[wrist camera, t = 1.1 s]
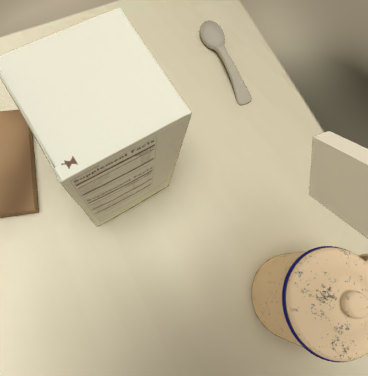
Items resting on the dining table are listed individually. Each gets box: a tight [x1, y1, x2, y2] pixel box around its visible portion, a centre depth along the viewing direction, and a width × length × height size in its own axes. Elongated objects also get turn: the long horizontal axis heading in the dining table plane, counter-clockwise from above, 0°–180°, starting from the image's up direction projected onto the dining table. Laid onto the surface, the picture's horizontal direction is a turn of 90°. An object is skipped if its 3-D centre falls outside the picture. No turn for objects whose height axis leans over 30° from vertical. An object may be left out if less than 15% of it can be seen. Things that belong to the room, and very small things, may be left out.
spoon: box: [200, 21, 252, 105], centre depth 41 cm, size 3×12×2 cm, turn 25°
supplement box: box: [0, 8, 192, 226], centre depth 28 cm, size 10×9×17 cm
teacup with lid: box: [252, 246, 368, 362], centre depth 30 cm, size 12×9×12 cm
